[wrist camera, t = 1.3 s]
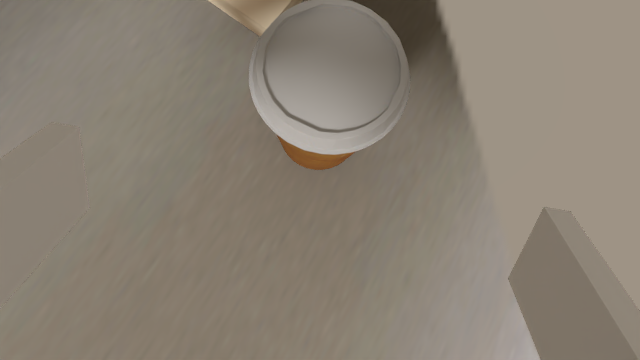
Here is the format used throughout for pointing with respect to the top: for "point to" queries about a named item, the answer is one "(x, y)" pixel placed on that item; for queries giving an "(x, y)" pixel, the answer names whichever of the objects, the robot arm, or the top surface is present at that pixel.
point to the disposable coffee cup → (329, 80)
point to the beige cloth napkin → (255, 11)
